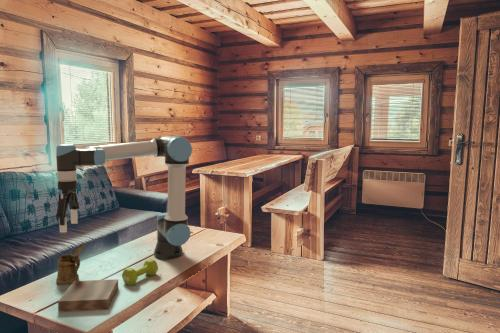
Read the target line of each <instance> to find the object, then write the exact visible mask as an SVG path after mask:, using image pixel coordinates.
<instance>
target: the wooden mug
mask: <svg viewBox="0 0 500 333" xmlns="http://www.w3.org/2000/svg"><path fill="white" fill-rule="evenodd" d="M84 249H85V244H84V243H81V244H80V245H79V246H78V247H77V248H76V249H75V250H74V251H73V252H72V254H62V255H61V256H59V258H58V261H57V265H58V266H57V276H56V280H55V281H56V283H55V284H57V285H61V286H65V285H71V284H72V283H73V282H74V281H79V279H80V277H79V276H80V275H79V274H78V271H79V268H80V266H81V261H80V257H79V256H80V254H81V253H82V252H83V250H84Z"/></svg>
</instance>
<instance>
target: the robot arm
mask: <svg viewBox="0 0 500 333" xmlns="http://www.w3.org/2000/svg"><path fill="white" fill-rule="evenodd" d="M55 151H56V152H55V154H56V155H55V156H56V157H55V158H56V171H57V172H55V173H56V176H57V190H58V191H62V192H61V193H59V194H58V203H57V211H56V218H57V219H58V220H59V221H58V223H59V224H58V225H59V233H63V234H64V233H67V232H68V222H67V219H68V218H67V216H66V215H67V211H68V207H70V224H72V225H74V224H75V225H76V224H77V225H78V222H79V220H78V218H79V216H78V210H79V209H80V204H79V199H78V195H77V189H78V180H77V179H78V178H77V177H78V176H77V175H78V174H77V173H78V172H77V167H87V166H88V167H89V166H90V167H91V166H92V167H93V166H94V167H95V166H96V167H99V166H105V164H106V161H114V160H115V161H116V160H125V159H131V158H142V157H151V156H153V157H155V158H159V157H161V158H162V157H164V164H165V166H167V212H162V213H159V214H157V216H156V217H157V218H156V235H157V236H156V240H157V241H156V244H155V247H154V251H153V256H154V258H155V259H158V260H174V259H178V258H180V257H182V256H183V252H184V250H183V247H182V246H183V245H185V244H186V243H187V242H188V241H189V239H190V237H191V233H192V231H191V229H190V226H189V216H188V215H187V214H186V181H187V180H186V175H187V174H186V172H187V170H186V169H187V168H186V167H187V166H189V163H190V158H191V156H192V153H193V146H192V144H191V142H190V141H189V140H188V139H187V138H186V137H184V136H180V135H166V136H161V137H156V138H151V140H146V141H145V140H144V141H134V142H123V143H114V144H113V143H112V144H103V145H93V146H92V145H91V146H90V145H87V146H83V147H82V148H76V145H75V144H69V143H68V144H66V143H65V144H64V143H63V144H58V145H57V146H56V148H55Z"/></svg>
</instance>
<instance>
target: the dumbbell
mask: <svg viewBox="0 0 500 333" xmlns="http://www.w3.org/2000/svg"><path fill="white" fill-rule="evenodd" d="M158 271H159V266H158V263H157V261H156V260H155V259H153V258H148V259H145V261H144V263H143V266H142V267H139V268H137V269H134V268H133V267H125V268H124V270H123V271H122V273H121V276H122V281H123V282H124V284H125V285H127V286H134V285H135V284H136V283H137V280H138V278H139V277H141V276H142V275H145V274H146V275H148V276H154V275H156V274H157V272H158Z"/></svg>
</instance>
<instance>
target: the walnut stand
mask: <svg viewBox="0 0 500 333" xmlns="http://www.w3.org/2000/svg"><path fill="white" fill-rule="evenodd" d="M118 289H119V279H94V280H93V279H92V280H89V279H88V280H77V281H74V282H73V283H71V284H70V285H69V287H68V288H67V289H66V291H65V292H64V293H63V294H62V295H61V297H60V298H59V299H58V300H57V306H58V307H57V309H58V312H59V313H60V312H75V311H97V310H98V311H99V310H109V307H110V306H111V304H112V302H113V300H114V298H115V296H116V294H117V292H118Z"/></svg>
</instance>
